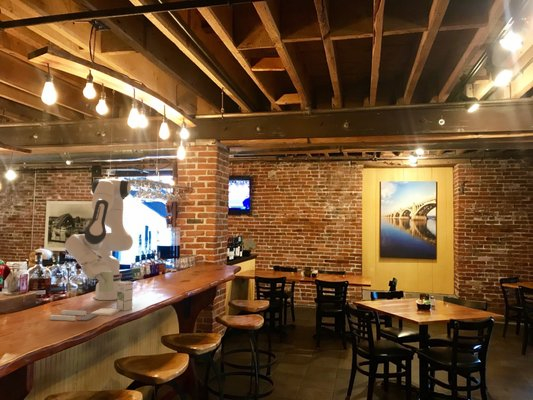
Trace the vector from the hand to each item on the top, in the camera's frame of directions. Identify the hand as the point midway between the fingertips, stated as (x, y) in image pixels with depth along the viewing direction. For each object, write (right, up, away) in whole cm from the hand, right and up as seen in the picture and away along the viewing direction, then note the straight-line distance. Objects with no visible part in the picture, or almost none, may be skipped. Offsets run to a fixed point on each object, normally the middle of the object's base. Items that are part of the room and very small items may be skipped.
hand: (107, 281), depth 201 cm
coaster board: (-1, -16, -1) cm, 16 cm away
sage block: (-1, -5, 0) cm, 5 cm away
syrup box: (+6, -17, +8) cm, 19 cm away
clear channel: (-11, -15, -11) cm, 22 cm away
